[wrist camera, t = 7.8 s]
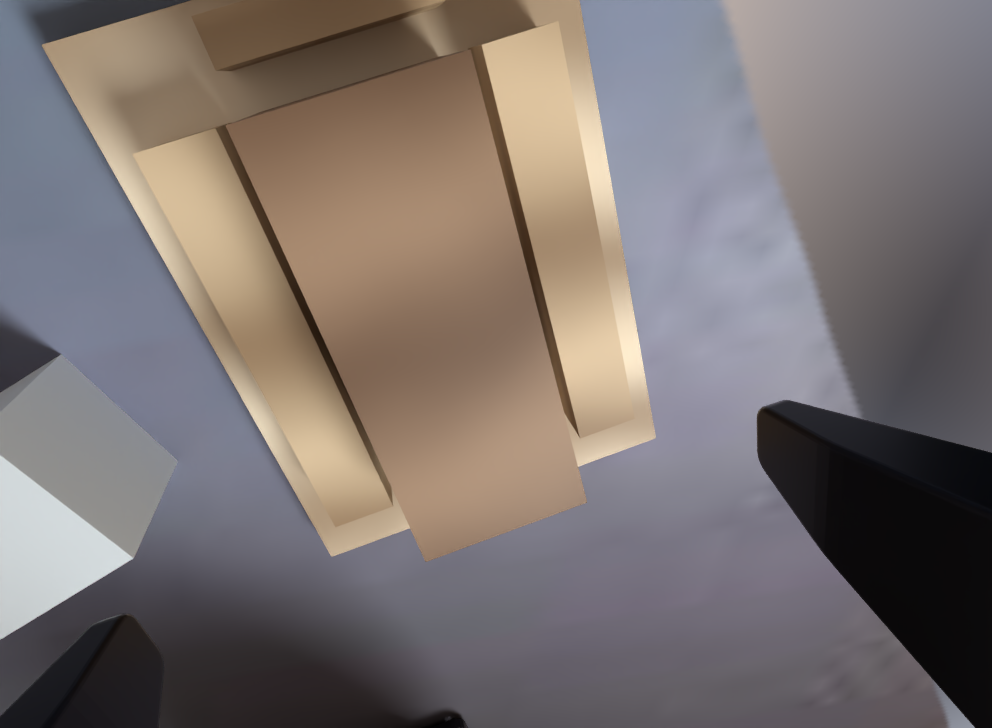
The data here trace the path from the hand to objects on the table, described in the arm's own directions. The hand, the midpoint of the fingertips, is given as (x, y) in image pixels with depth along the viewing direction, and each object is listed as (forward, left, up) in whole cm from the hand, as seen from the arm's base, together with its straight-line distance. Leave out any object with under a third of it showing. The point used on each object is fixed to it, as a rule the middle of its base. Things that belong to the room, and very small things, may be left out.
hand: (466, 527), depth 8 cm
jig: (0, 0, -11) cm, 11 cm away
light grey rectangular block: (-2, +14, -11) cm, 18 cm away
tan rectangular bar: (0, 0, -10) cm, 10 cm away
